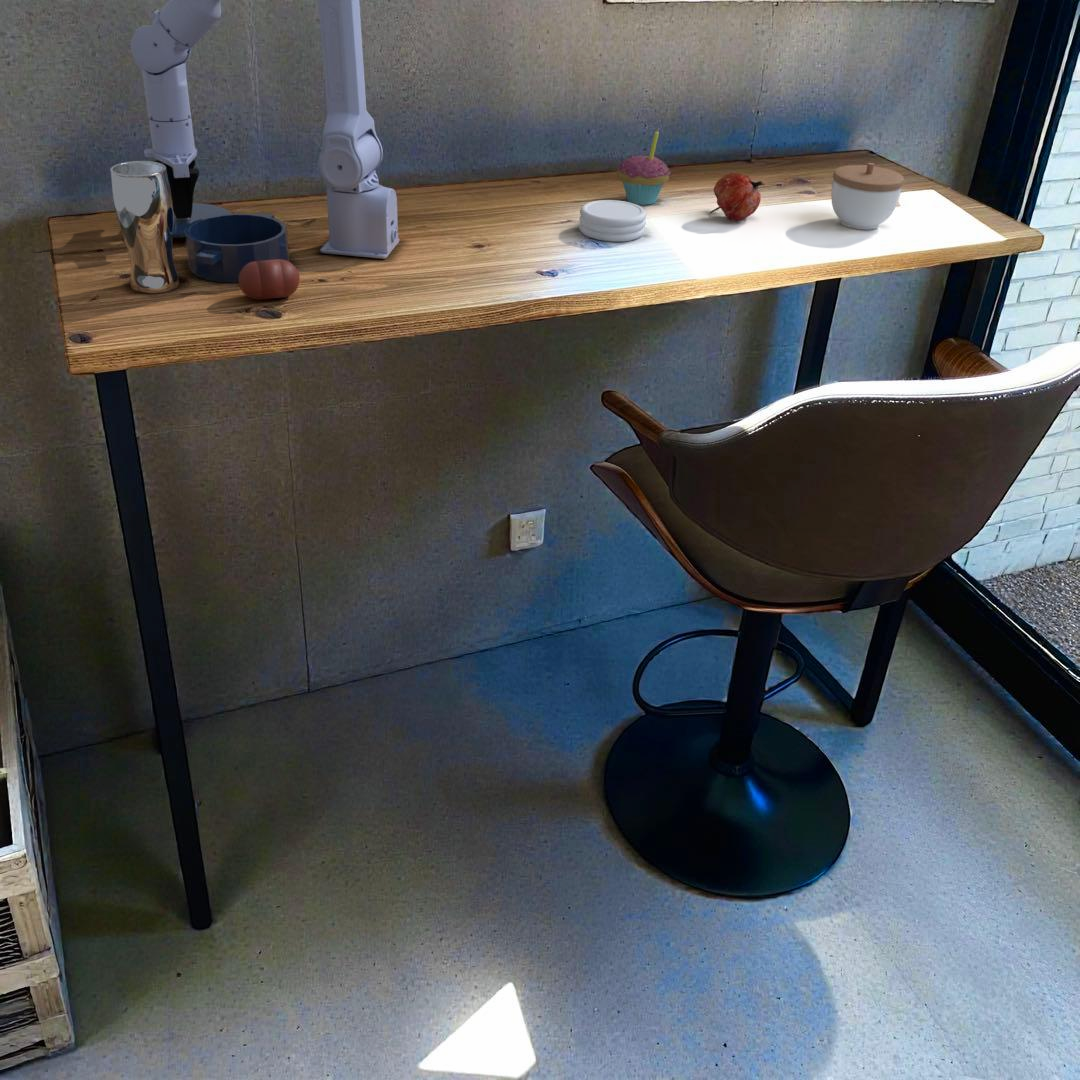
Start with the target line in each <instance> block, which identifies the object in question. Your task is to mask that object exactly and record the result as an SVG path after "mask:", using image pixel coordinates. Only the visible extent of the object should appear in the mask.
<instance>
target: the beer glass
mask: <svg viewBox="0 0 1080 1080" xmlns="http://www.w3.org/2000/svg"><path fill="white" fill-rule="evenodd" d="M109 169H110V177H111V179H110V180H111V190H112V191H111V192H112V199H113V200H112V201H113V206H114V212H115V216H116V220H117V223H118V226H119V229H120V233H121V235H122V239H123V242H124V244H125V246H126V250H127V253H128V258H129V263H130V276H129V277H130V279H129V280H130V281H129V283H130V288H131V289H132V290H134V291H135V292H138V293H142V294H161V293H166V292H170V291H173V290H174V289H176V288H178V287H179V285H180V277H179V274H178V271H177V269H176V265H175V261H174V255H173V254H174V253H173V239H174V237H173V203H172V196H171V190H170V185H169V180H168V176H167V171H166V166H165V165H163V164H161V163H158V162H154V161H151V160H132V161H125V162H120V163H117V164H115V165H113V166H111V167H110V168H109Z"/></svg>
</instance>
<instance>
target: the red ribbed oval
mask: <svg viewBox="0 0 1080 1080" xmlns="http://www.w3.org/2000/svg"><path fill="white" fill-rule="evenodd" d="M238 280H239V283H238V286H239V287H240V290H241V292H242V293H243V295H245V296H247V297H248V298H249V299H252V300H256V301H263V300H272V299H273V300H274V299H283V298H288V297H290V296H292V295H293V294H294V293H296V291H297V289H298V288H299V285H300V274H299V271H298V269H297V267H296V266H295V265H294V264H293V263H291V262H290V261H289V262H288V261H286V260H282V259H275V260H263V261H254V262H250V263H248V264H246V265H245V266H244V267H243V268H242V270H241V271H240V274H239V279H238Z"/></svg>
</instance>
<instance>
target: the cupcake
mask: <svg viewBox="0 0 1080 1080" xmlns="http://www.w3.org/2000/svg"><path fill="white" fill-rule="evenodd" d="M659 131H660V127H657V130H656V131H655V132H654V135H653V138H652V142H651V147H650V151H649V155H644V154H643V155H640V154H638V155H633V156H629V157H626V159H623V160H622V161H621V162H620V163H619V165H618V166H617V167H618V169H617V171H616V178H617V179H618V180H620V181H621V182H622V185H623V187H624V188H623V189H624V192H625V197H626V200H627V202H629V203H633V204H636V205H638V206H640V205H641V206H642V205H643V206H649V205H653V204H655V203H656V202H657V200H658V197H659V195H660V192H661V190H662V188H663V186H664V184H666V183H667V182H669V180H670V179H669V178H670V176H671V173H672V172H671V170H670V168H669V166H668V165H667V164H666V163H665V162H664V161H663V160H661V158H658V157H656V156H655V151H656V147H657V142H658V139H659V134H660V132H659Z"/></svg>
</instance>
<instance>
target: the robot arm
mask: <svg viewBox="0 0 1080 1080" xmlns="http://www.w3.org/2000/svg"><path fill="white" fill-rule="evenodd" d="M221 1H222V0H167V2H166V3H165V4H164V5H163V7H162V8H161V9H160V10H159V9H156V10H154V11H153V12H152V13H151V14H150V18H151V19H152V20H151V24H146V25H140V26H138V27H137V28H136V29H135V31H134V33H133V35H132V37H131V39H130V52H131V55H132V58H133V59H134V61H135V63H136V64H137V66H138V67H140V69H141V75H142V81H143V88H144V96H145V103H146V111H147V116H148V117H147V118H148V125H149V133H150V140H151V147H152V148H145V149H144V150H143V153H144V157H145V158H148V159H150V158H151V159H152V158H153V159H155V160H154V161H153V162H158V163H161V164H163V165H165V166H166V171H167V176H168V180H169V185H170V190H171V196H172V203H173V211H174V214H175V216H176V218H177V219H182V218H191V215H192V207H193V203H194V202H193V201H194V194H195V193H194V192H195V188H196V184H197V181H198V179H199V177H200V169H199V168H198V167H197V168H195V166H196V160H195V158H196V157H197V156H198V150H197V148H196V145H195V137H194V129H193V128H194V127H193V121H192V120H193V119H192V113H191V112H192V111H191V104H190V95H189V86H188V79H187V69H186V67H187V66H186V65H187V62H188V60H189V59H190V57H191V54H192V49H193V47H195V45H196V44H197V43H198V42H199V41H200V40H201V39H202V37H203V36H205V35H206V33H207V32H208V31H209V30H210V29H211V28H212V27H213V26H214V25H215V23H216V22H217V21H218V20H219V19H220V18H221V16H222V3H221ZM317 6H318V7H317V8H318V18H319V19H318V20H319V29H320V30H319V31H320V42H321V55H322V56H321V57H322V67H323V78H324V89H325V92H324V93H325V102H326V118H325V123H324V126H323V131H322V149H321V151H320V154H319V156H318V161H317V166H318V171H319V174H320V176H321V178H322V179H323V181H324V182H325V185H326V186H325V188H326V189H325V190H326V204H327V206H326V207H327V220H328V221H327V223H328V237H329V238H328V240H327V242H326V243H324V245H322V247H321V248H320V249H319V251H320V253H321V254H327V255H328V254H329V255H337V256H338V255H340V256H349V257H358V258H359V257H363V258H371V259H383V260H386V259H387V258H388V257H389V256H390V254H391V253H392V252H393V250H394V249H395V248H396V246H397V245H398V244H399V242H400V238H399V223H398V221H399V219H398V197H397V193H396V190H395V189H394V188H391V187H386V186H384V185H382V184H380V182H379V177H378V175H377V171H376V170H377V169H378V168H379V167H380V165H381V164H382V161H383V157H384V152H383V151H384V150H383V146H382V142H381V141H380V139H379V137H378V134H377V132H376V128H375V126H376V125H375V120H374V118H373V117H372V116H371V115H370V113H369V112H368V110H367V96H366V81H365V68H364V67H365V65H364V53H363V52H364V51H363V36H362V35H363V34H362V21H361V20H362V19H361V7H360V6H361V5H360V0H317Z"/></svg>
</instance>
